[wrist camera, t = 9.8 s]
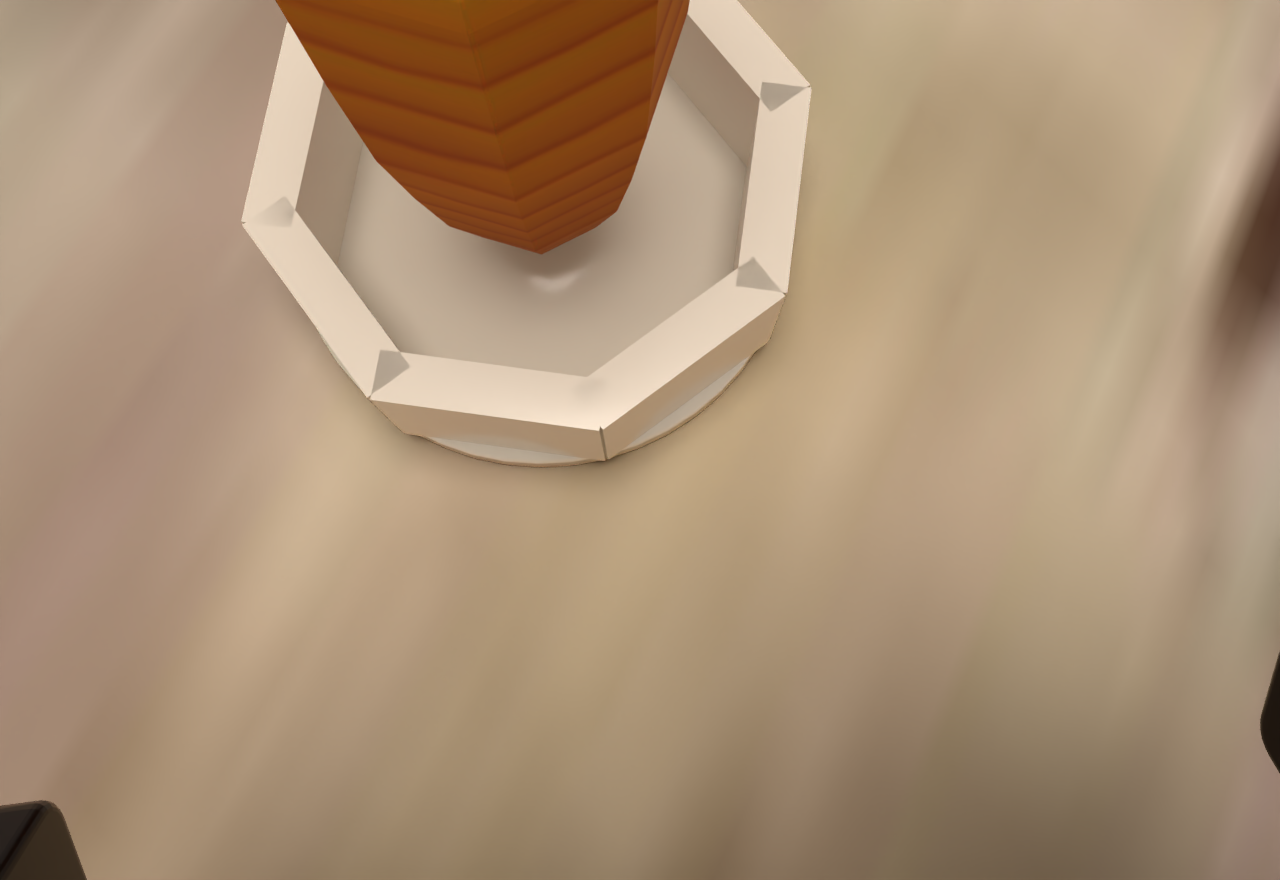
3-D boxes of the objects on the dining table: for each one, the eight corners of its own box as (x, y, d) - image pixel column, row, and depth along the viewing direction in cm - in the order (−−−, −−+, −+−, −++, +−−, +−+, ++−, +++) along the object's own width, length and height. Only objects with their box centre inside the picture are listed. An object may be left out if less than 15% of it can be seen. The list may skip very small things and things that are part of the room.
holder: (888, 273, 20) (930, 204, 17) (489, 569, 19) (460, 550, 16) (596, -71, 22) (589, -188, 19) (211, 185, 20) (139, 103, 18)
